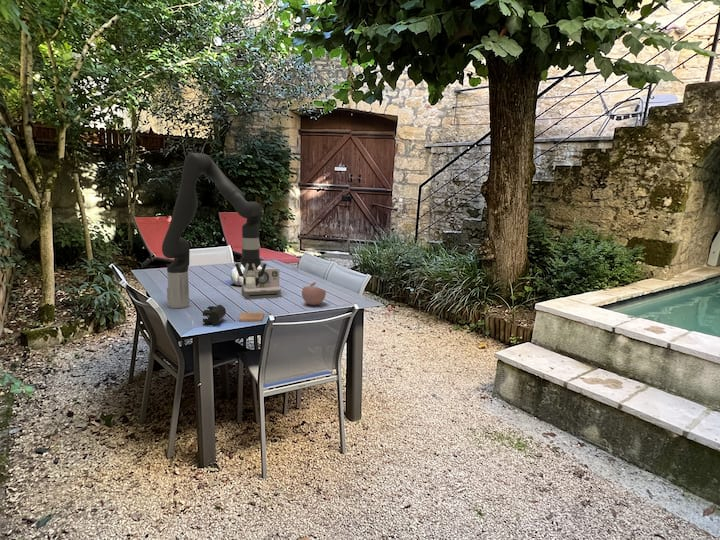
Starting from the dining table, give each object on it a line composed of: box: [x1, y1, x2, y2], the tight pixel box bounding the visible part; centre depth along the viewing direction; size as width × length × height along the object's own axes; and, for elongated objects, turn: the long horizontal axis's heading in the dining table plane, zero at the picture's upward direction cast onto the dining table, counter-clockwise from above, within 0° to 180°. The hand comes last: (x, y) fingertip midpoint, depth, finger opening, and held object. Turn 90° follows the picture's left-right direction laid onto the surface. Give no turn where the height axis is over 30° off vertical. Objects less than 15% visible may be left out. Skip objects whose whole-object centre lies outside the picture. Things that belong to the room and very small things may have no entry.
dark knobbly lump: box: [202, 304, 227, 326], centre depth 188 cm, size 10×7×7 cm
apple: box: [301, 281, 327, 306], centre depth 220 cm, size 12×12×12 cm
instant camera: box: [240, 267, 282, 301], centre depth 236 cm, size 21×21×15 cm
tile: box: [238, 312, 265, 322], centre depth 197 cm, size 10×10×1 cm
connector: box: [246, 274, 256, 289], centre depth 192 cm, size 11×4×5 cm, turn 6°
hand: (251, 285), depth 194 cm, fingers closed on connector, 4 cm apart
